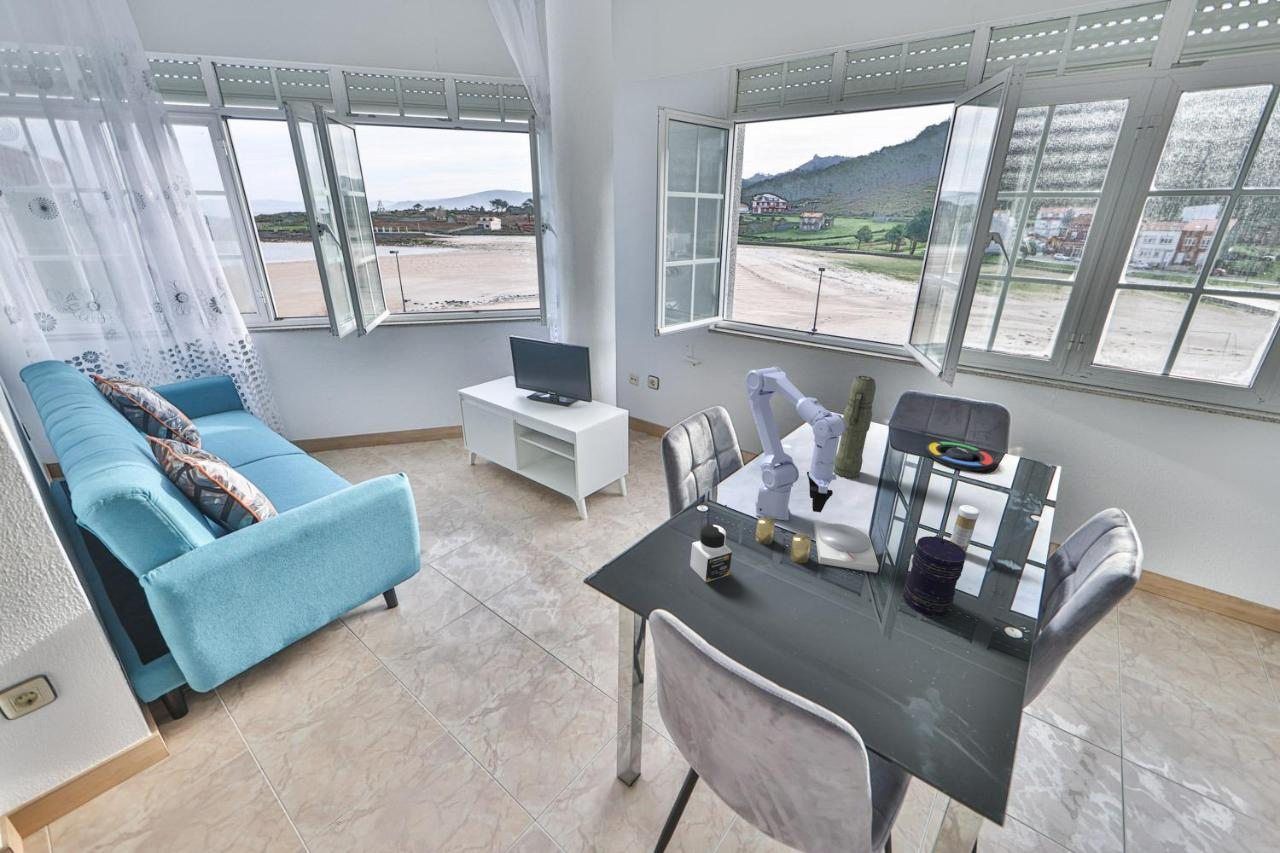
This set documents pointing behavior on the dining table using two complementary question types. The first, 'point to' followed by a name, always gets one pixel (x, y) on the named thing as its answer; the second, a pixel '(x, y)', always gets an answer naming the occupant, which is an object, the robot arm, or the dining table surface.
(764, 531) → the cylinder
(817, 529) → the kitchen scale
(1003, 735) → the dining table surface
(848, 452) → the thermos
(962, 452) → the electronic game
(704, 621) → the dining table surface
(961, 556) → the storage jar
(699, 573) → the medicine bottle
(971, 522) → the sprinkles bottle
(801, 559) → the cylinder
